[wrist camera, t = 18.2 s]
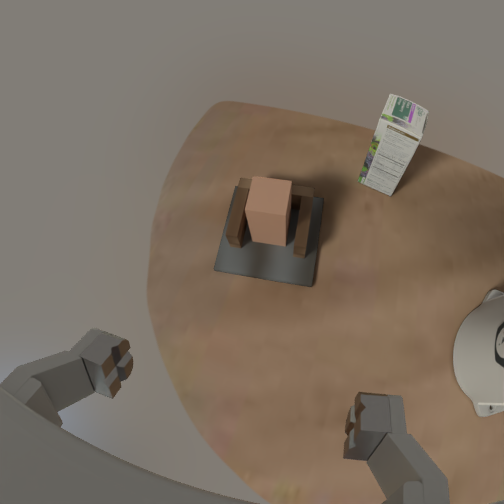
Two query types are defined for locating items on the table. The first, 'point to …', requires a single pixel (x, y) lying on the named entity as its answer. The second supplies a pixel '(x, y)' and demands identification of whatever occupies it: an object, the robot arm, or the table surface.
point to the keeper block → (269, 210)
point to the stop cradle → (268, 255)
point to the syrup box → (393, 144)
